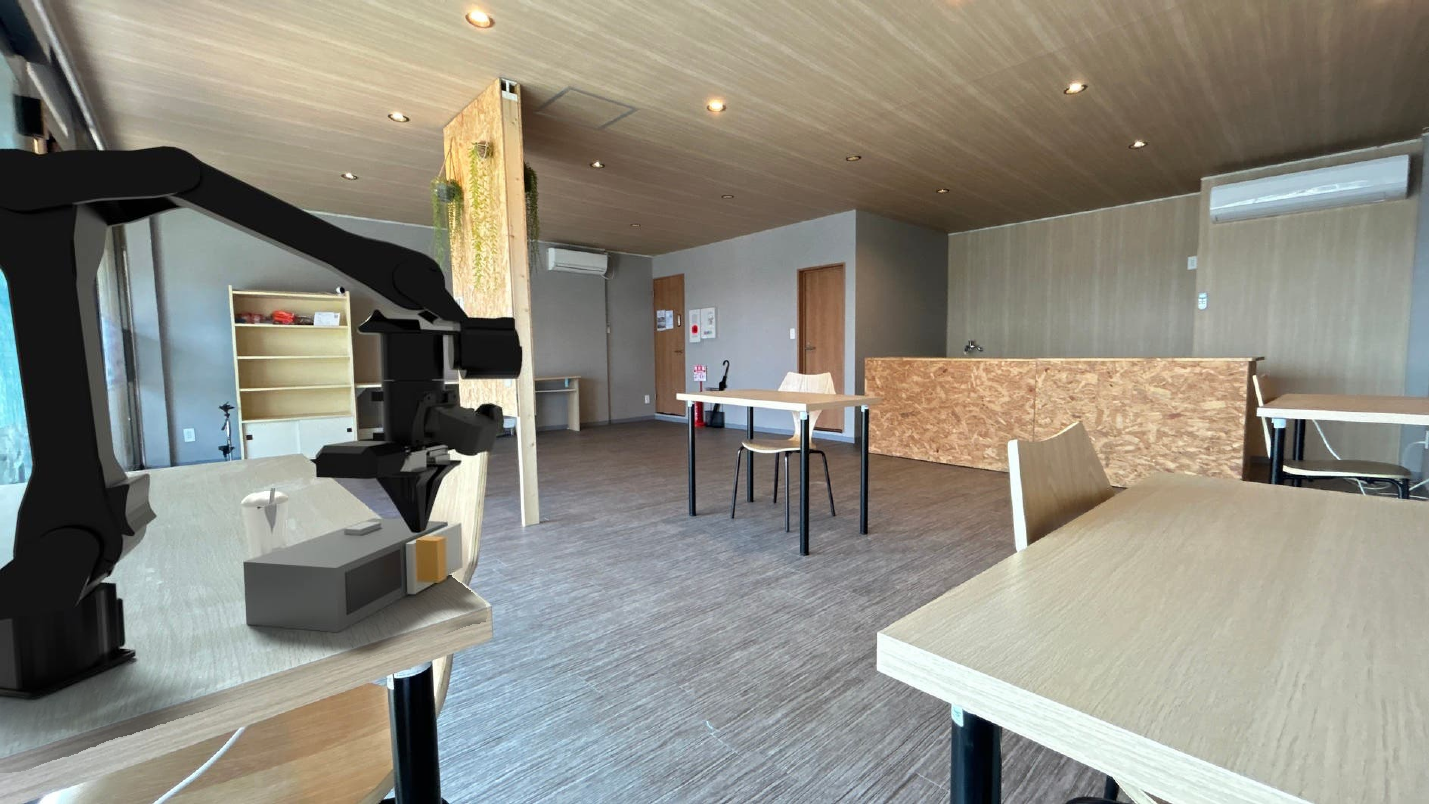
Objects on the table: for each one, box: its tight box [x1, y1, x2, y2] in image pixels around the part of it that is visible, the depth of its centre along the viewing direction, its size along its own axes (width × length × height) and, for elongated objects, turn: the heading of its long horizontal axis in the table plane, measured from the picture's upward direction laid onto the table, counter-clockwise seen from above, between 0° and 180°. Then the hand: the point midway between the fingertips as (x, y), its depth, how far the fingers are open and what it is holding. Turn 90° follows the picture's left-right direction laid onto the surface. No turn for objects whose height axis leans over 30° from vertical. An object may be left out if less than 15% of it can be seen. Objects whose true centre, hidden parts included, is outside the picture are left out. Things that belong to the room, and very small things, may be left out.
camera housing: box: [242, 517, 449, 633], centre depth 61 cm, size 17×10×7 cm, turn 170°
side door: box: [406, 522, 463, 595], centre depth 64 cm, size 8×3×6 cm, turn 170°
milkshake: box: [240, 487, 290, 560], centre depth 69 cm, size 4×5×10 cm
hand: (418, 532), depth 59 cm, fingers closed
